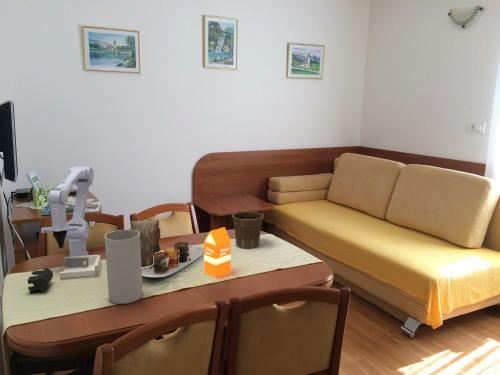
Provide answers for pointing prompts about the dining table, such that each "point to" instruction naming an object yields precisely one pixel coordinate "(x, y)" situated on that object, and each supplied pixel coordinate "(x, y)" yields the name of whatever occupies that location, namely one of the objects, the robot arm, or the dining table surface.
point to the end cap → (40, 281)
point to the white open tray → (83, 268)
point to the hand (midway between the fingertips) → (61, 247)
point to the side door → (76, 262)
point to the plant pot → (247, 229)
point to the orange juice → (217, 253)
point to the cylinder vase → (123, 266)
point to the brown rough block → (147, 239)
